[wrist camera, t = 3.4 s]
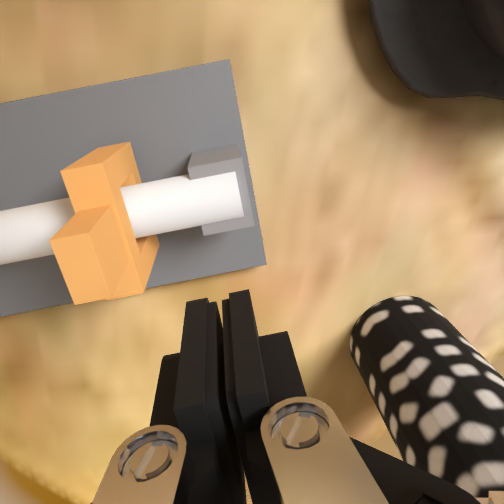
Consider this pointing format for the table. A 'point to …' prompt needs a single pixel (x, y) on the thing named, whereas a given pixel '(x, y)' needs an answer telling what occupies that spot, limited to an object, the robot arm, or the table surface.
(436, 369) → the white-spotted black cylinder
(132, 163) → the collar
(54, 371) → the table surface
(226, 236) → the pipe rig
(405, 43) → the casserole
